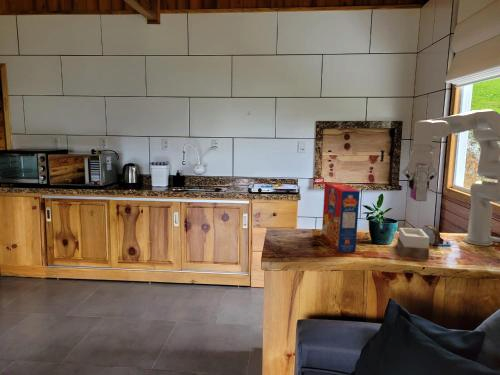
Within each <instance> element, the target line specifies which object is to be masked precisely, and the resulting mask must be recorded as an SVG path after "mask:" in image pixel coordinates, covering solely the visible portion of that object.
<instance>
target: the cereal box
mask: <svg viewBox="0 0 500 375" xmlns="http://www.w3.org/2000/svg"><path fill="white" fill-rule="evenodd" d="M323 190H324V191H323V210H322V227H321V229H322V230H321V236H322V237H323V239H324V240H325V241H327V242H328V244H330V245H331V246H332V247H333V249H335V251H337V253H356V251H357V250H356V249H357V248H356V247H357V237H358V234H357V233H358V223H359V222H358V219H359V207H360V192H361V191H360V190H357V189H356V188H352V187H351V186H348V185H345V184H343V183H342V182H341V183H340V182H324V189H323Z"/></svg>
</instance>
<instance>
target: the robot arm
mask: <svg viewBox="0 0 500 375" xmlns="http://www.w3.org/2000/svg"><path fill="white" fill-rule="evenodd" d="M468 131H472V135H473V137H474V139H475V141H477V143H478V145H479V148H480V153H479V159H478V165H477V175H478V177H480V178H482V179H486V180H478V181H474V182H473V183H472V184H471V186H470V189H469V190H470V191H469V192H470V210H469V218H468V226H467V227H468V228H467V235H466V236H465V237H464V238H463V241H464V242H465V243H467V244H471V245H476V246H485V247H486V246H488V247H489V246H492V245H493V242H499V243H500V237H497V236H492V235H491V227H492V218H493V206H492V203H491V202H493V203H497V204H500V143H499V142H500V113H499V112H498V111H496V110H494V109H481V110H479V109H477V110H476V109H475V110H472V111H467V112H463V113H459V114H453V115H449V116H443V117H438V118H432V119H427V120H418V121H415V123H414V132H413V142H412V144H413V146H412V151H410V153H409V158H408V164H407V166H406V167H405V168H404V169H402V171H401V173H402V174H403V175H404V176H405V177H406V178H407V179H408V180H409V181H408V188H410V190H411V189H412V185H413V180H412V178H413V176H414V174H415V168H416V164H429V174H428V186H427V189H429V188H430V181H431V180H433V179H434V178H435V177H437V176H439V172H438V171H437V170H436V169H435V167H434V153H433V152H432V151H435V150H436V147H435V146H433V139H442V138H446V137H448V136H449V135H450V134H460V133H464V132H468ZM407 172H408V173H407ZM487 180H496V181H497V182H495V181H487Z"/></svg>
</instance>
